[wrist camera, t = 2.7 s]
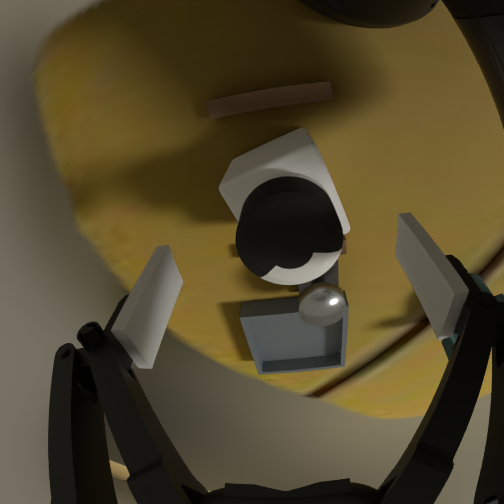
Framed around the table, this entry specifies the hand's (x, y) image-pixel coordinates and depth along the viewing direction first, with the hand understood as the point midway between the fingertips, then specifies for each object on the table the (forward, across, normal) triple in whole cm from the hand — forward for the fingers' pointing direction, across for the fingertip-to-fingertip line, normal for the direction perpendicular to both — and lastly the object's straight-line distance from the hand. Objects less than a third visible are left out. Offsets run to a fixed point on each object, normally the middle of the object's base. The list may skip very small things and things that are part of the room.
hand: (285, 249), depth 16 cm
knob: (+12, +2, -11) cm, 16 cm away
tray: (+12, -1, -20) cm, 23 cm away
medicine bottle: (+12, 0, 0) cm, 12 cm away
